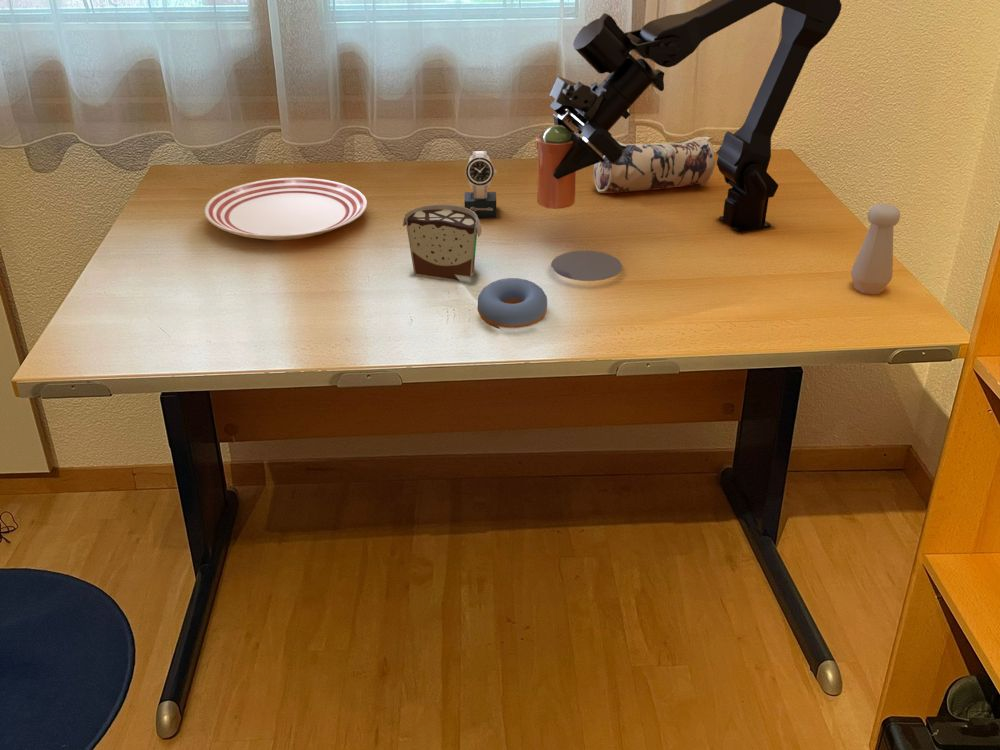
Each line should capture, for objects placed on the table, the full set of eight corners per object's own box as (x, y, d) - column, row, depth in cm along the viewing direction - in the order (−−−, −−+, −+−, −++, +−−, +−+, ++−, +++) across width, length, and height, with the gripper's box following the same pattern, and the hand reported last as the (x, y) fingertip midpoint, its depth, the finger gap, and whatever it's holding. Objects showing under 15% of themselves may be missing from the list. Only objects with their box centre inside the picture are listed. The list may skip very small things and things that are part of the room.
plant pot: (573, 193, 160) (575, 117, 153) (579, 208, 154) (581, 131, 148) (533, 195, 159) (533, 119, 153) (537, 210, 154) (538, 132, 147)
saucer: (601, 252, 159) (601, 245, 158) (634, 280, 150) (635, 273, 150) (539, 263, 155) (539, 257, 155) (569, 293, 147) (569, 285, 146)
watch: (464, 222, 170) (463, 161, 164) (465, 205, 177) (463, 145, 171) (497, 222, 170) (496, 160, 164) (496, 204, 177) (495, 145, 171)
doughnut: (524, 342, 134) (524, 312, 132) (463, 323, 139) (462, 294, 136) (559, 312, 141) (560, 284, 139) (501, 296, 146) (500, 268, 144)
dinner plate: (327, 181, 187) (326, 164, 185) (395, 229, 168) (394, 210, 166) (185, 212, 174) (182, 194, 173) (241, 267, 155) (238, 248, 153)
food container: (493, 268, 154) (493, 208, 149) (480, 285, 149) (479, 223, 144) (421, 257, 157) (418, 199, 152) (405, 273, 153) (401, 213, 147)
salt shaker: (891, 298, 145) (909, 216, 138) (850, 295, 146) (867, 213, 139) (885, 281, 149) (903, 200, 143) (846, 278, 150) (862, 198, 144)
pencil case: (602, 200, 178) (605, 148, 173) (589, 184, 185) (592, 133, 180) (716, 191, 182) (722, 140, 176) (699, 176, 189) (705, 125, 184)
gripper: (563, 43, 154) (496, 120, 157) (606, 73, 138) (531, 158, 142) (608, 89, 160) (543, 162, 163) (654, 123, 144) (581, 203, 148)
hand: (548, 170), depth 154 cm, fingers closed on plant pot, 6 cm apart
